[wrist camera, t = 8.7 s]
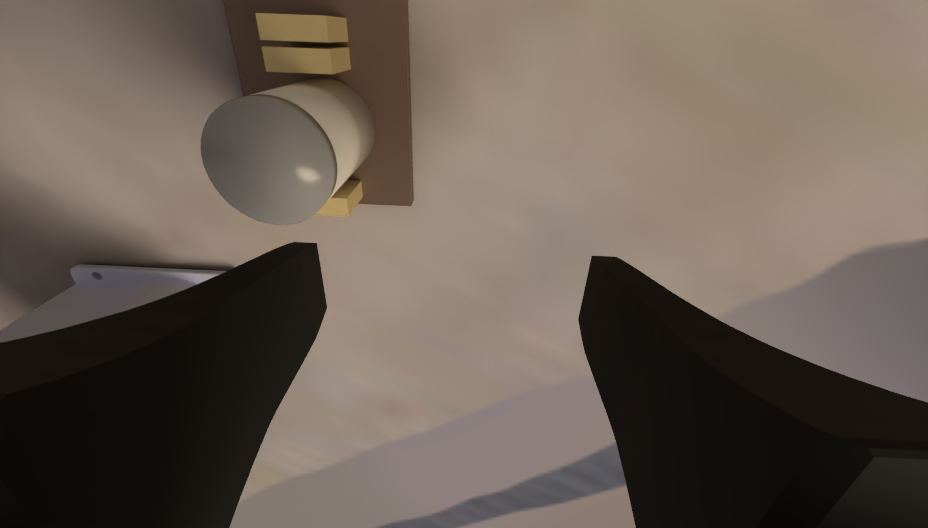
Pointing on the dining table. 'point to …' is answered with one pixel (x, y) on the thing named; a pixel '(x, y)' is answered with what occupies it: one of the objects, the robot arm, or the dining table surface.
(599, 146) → the dining table surface
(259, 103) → the cylinder
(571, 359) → the dining table surface
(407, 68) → the fuse holder
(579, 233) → the dining table surface
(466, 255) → the dining table surface
